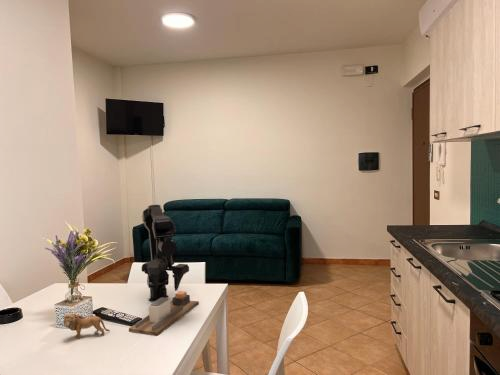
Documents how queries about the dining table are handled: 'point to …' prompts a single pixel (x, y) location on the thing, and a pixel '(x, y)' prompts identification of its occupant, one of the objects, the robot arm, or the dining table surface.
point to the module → (159, 309)
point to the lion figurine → (83, 323)
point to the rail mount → (177, 311)
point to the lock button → (180, 294)
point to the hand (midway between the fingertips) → (166, 289)
